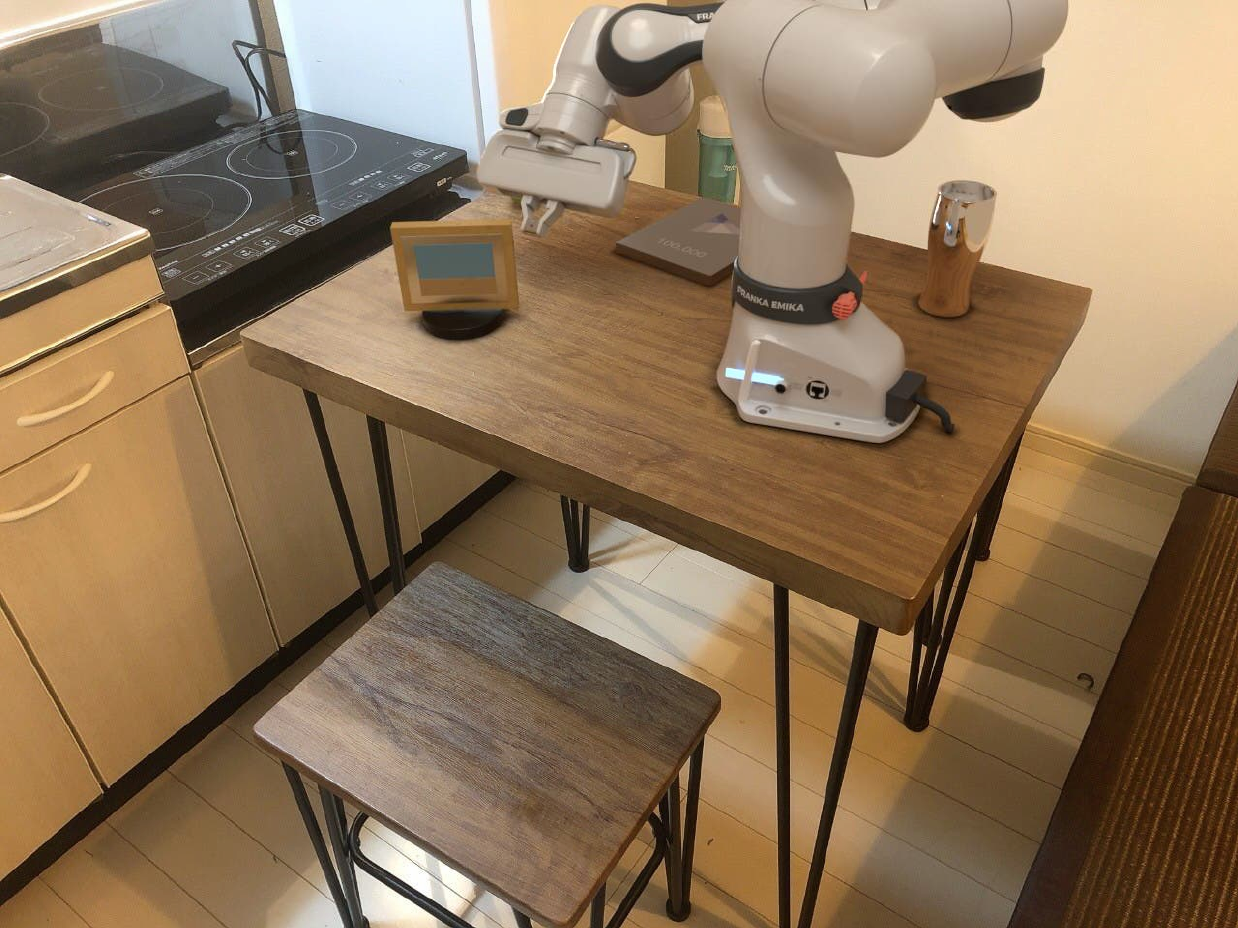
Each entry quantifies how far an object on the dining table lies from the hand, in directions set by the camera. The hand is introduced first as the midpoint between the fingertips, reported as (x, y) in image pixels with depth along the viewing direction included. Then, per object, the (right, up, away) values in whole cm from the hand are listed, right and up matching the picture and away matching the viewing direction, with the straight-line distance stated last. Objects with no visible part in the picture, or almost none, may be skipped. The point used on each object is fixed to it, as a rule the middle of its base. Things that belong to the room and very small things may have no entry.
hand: (532, 235), depth 122 cm
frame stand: (-8, -11, -1) cm, 14 cm away
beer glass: (+52, -9, 0) cm, 52 cm away
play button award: (+23, +2, +15) cm, 28 cm away
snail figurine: (-3, +11, +26) cm, 29 cm away
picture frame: (-8, -9, -2) cm, 13 cm away
